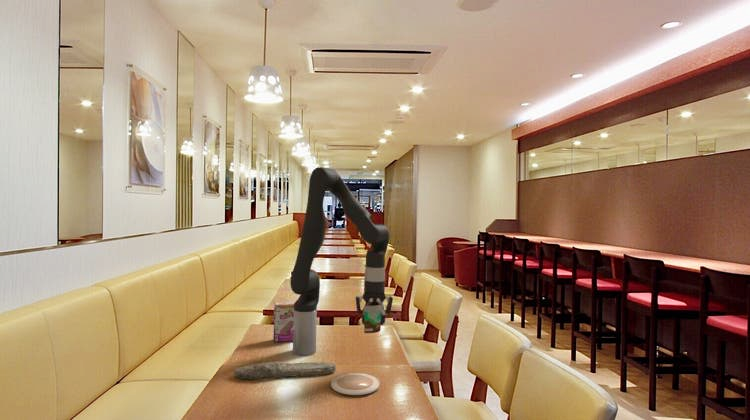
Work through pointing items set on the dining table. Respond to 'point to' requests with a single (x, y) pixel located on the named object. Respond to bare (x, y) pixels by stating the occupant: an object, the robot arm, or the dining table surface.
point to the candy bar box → (283, 322)
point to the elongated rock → (284, 370)
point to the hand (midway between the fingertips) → (373, 324)
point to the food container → (372, 318)
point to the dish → (355, 384)
